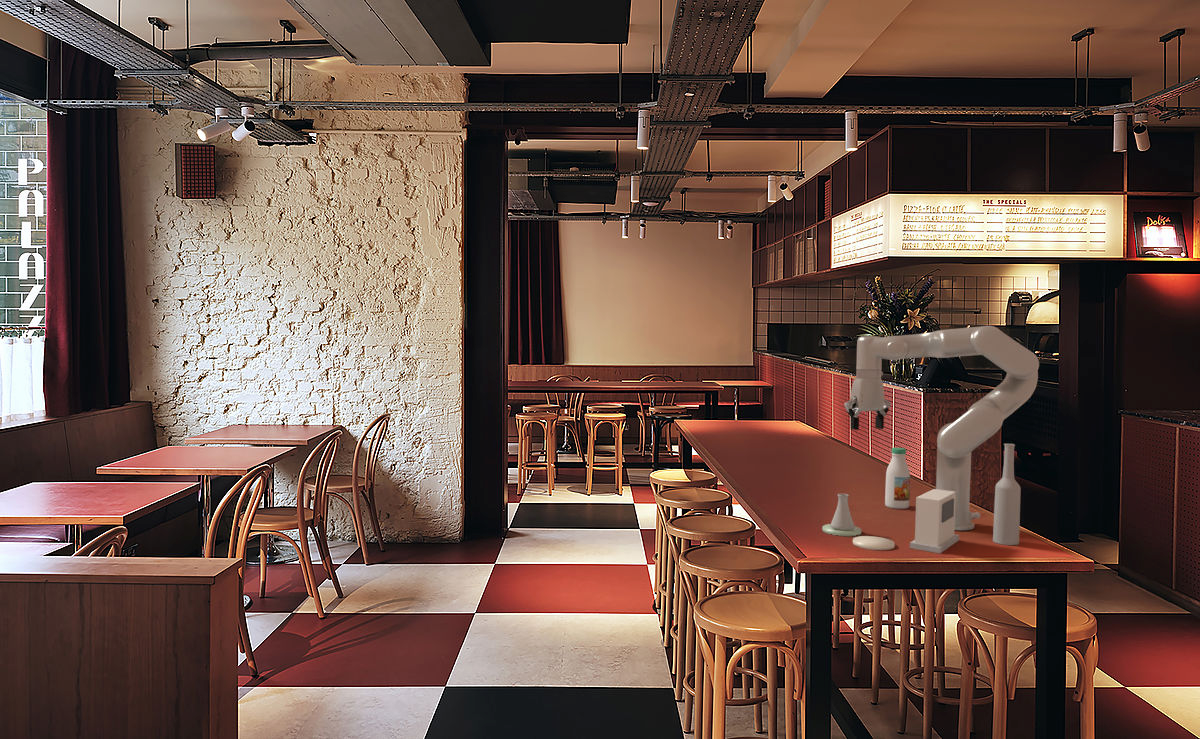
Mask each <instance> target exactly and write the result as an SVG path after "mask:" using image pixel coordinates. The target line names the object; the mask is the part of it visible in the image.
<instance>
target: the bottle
mask: <svg viewBox="0 0 1200 739" xmlns="http://www.w3.org/2000/svg"><path fill="white" fill-rule="evenodd" d="M1003 445H1004V453H1003V454H1004V457H1003V467H1002V477H1001V479H999V480H998V481H997V482H996V484H995V486H994V509H993V510H994V511H993V525H992V526H993V527H992V528H993V529H992V532H993V533H992V542H994V543H996V544H998V545H1002V546H1018V545H1020V530H1021V529H1020V526H1021V524H1020V523H1021V522H1020V520H1021V492H1022V491H1021V489H1022V488H1021V486H1020V484H1019V483H1018V482H1017V481H1016V479H1015V464H1014V463H1015V447H1016V444H1014V443H1003Z"/></svg>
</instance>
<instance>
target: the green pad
mask: <svg viewBox="0 0 1200 739" xmlns="http://www.w3.org/2000/svg"><path fill="white" fill-rule="evenodd" d="M830 524H831V523H828V524H824V525H823V526H822V528H821V529H822V532H823V533H825V534H829V535H831V534H832V536H836V535H838V536H839V537H857V536H856V535H858V536H860V535H862V528H860V527H858V526H856V525H854V526H855V529H854V530H838V529H833V528H831V527H830Z"/></svg>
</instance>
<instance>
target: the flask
mask: <svg viewBox="0 0 1200 739" xmlns="http://www.w3.org/2000/svg"><path fill="white" fill-rule="evenodd" d="M849 496H850V495H849V494H848V493H837V497H838V501H837V506H836V509H835V512H834V515H833V518H832V520H831V523H829V524H830V527H831V528H833V529H838V530H854V529H855V526H856V525H855V523H854V521H853V518H852V515H851V511H850V508H849Z"/></svg>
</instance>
